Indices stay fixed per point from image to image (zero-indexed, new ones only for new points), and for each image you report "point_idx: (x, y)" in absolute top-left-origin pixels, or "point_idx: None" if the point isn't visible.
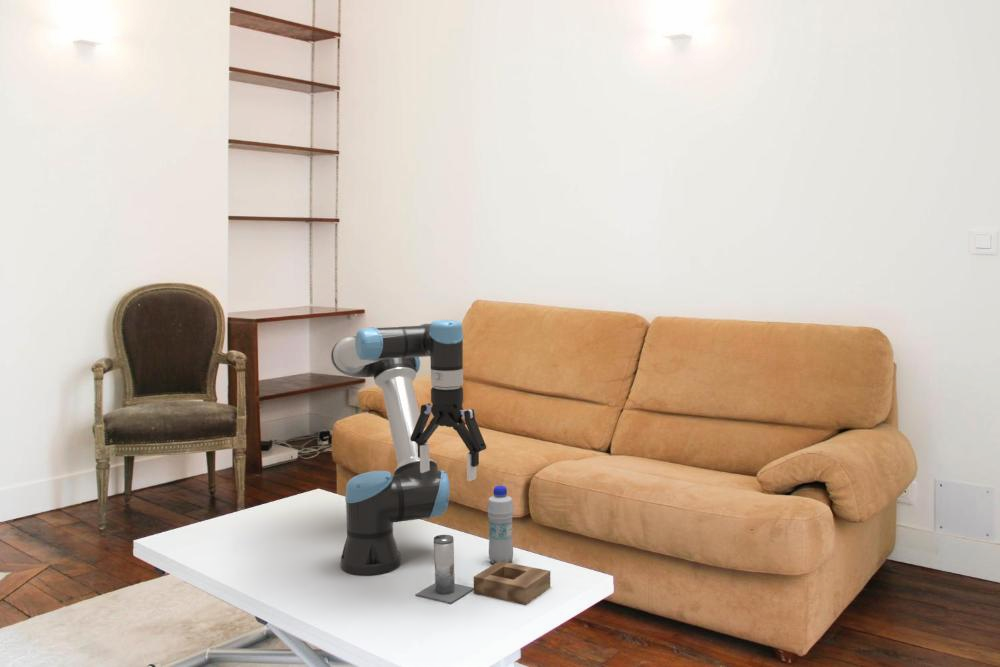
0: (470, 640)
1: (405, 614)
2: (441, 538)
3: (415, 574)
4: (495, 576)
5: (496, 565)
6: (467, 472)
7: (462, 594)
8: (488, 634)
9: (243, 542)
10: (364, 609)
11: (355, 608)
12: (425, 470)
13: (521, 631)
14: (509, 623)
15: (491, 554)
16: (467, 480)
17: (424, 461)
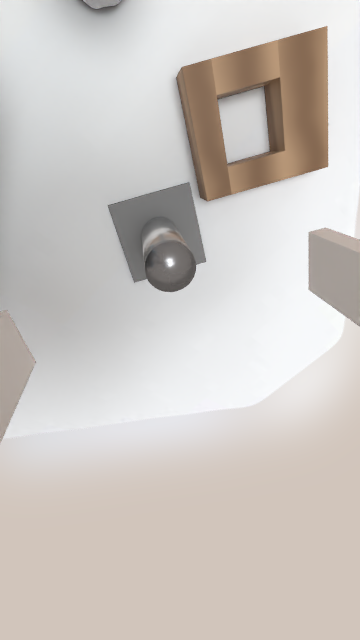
0: (308, 317)
1: (181, 331)
2: (170, 274)
3: (37, 214)
4: (242, 164)
5: (198, 103)
6: (337, 307)
7: (195, 223)
8: None
9: None
10: (124, 361)
11: (112, 368)
12: (22, 346)
13: None
14: None
15: (95, 2)
16: (311, 289)
17: (7, 387)
